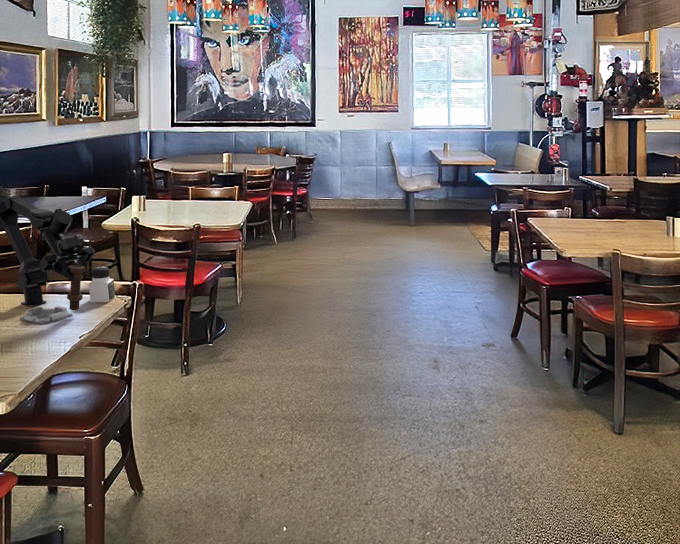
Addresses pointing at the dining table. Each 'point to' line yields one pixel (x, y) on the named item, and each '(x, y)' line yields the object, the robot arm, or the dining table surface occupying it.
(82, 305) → the dining table surface
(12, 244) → the robot arm
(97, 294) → the medicine bottle
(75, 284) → the bolt
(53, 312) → the ring collar
